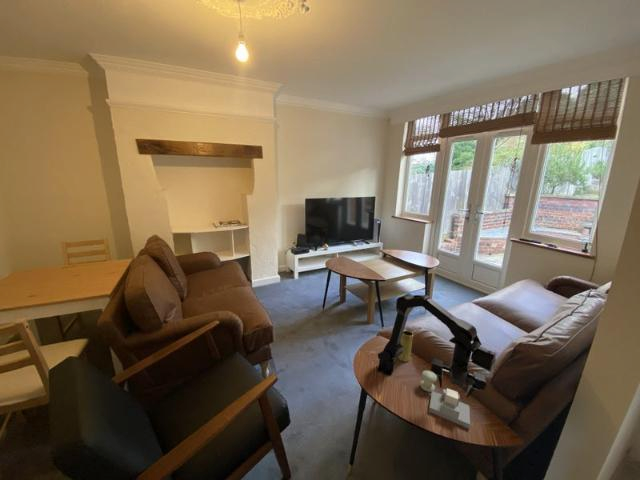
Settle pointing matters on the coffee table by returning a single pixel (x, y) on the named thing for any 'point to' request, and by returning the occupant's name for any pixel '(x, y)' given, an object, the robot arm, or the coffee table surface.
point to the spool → (428, 381)
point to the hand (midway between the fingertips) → (453, 391)
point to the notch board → (462, 413)
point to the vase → (406, 346)
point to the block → (451, 397)
